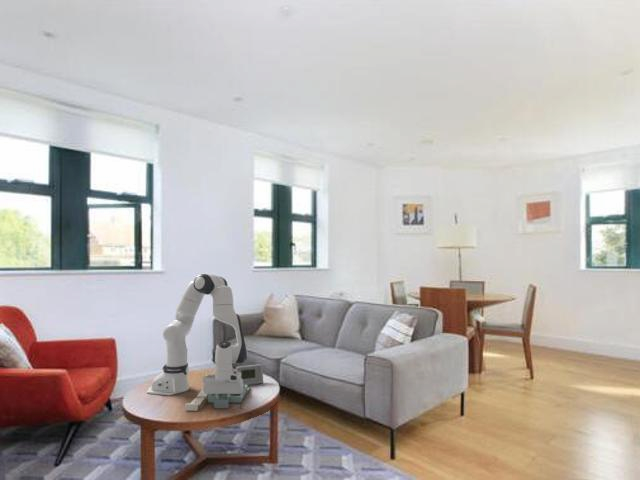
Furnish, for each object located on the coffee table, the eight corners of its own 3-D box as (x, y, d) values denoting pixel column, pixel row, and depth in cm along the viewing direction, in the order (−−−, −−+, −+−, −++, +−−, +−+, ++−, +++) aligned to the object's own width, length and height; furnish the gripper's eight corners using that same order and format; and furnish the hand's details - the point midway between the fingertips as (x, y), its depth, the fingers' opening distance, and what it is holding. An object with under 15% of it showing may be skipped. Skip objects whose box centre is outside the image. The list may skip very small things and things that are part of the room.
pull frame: (203, 408, 187) (203, 400, 188) (216, 390, 212) (216, 382, 213) (238, 408, 188) (238, 400, 188) (247, 390, 212) (247, 383, 213)
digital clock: (235, 387, 218) (235, 368, 218) (235, 382, 226) (236, 364, 227) (263, 385, 221) (263, 367, 221) (262, 380, 230) (263, 363, 230)
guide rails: (200, 409, 187) (200, 407, 187) (215, 388, 215) (215, 387, 215) (240, 409, 187) (240, 407, 187) (250, 389, 215) (250, 387, 215)
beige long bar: (185, 410, 185) (185, 404, 185) (201, 391, 211) (201, 385, 211) (197, 410, 185) (197, 404, 185) (212, 391, 211) (212, 385, 211)
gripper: (201, 376, 189) (200, 404, 189) (241, 376, 189) (241, 404, 189) (205, 372, 195) (204, 399, 195) (244, 372, 196) (243, 399, 195)
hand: (223, 402), depth 192 cm, fingers open, 2 cm apart
